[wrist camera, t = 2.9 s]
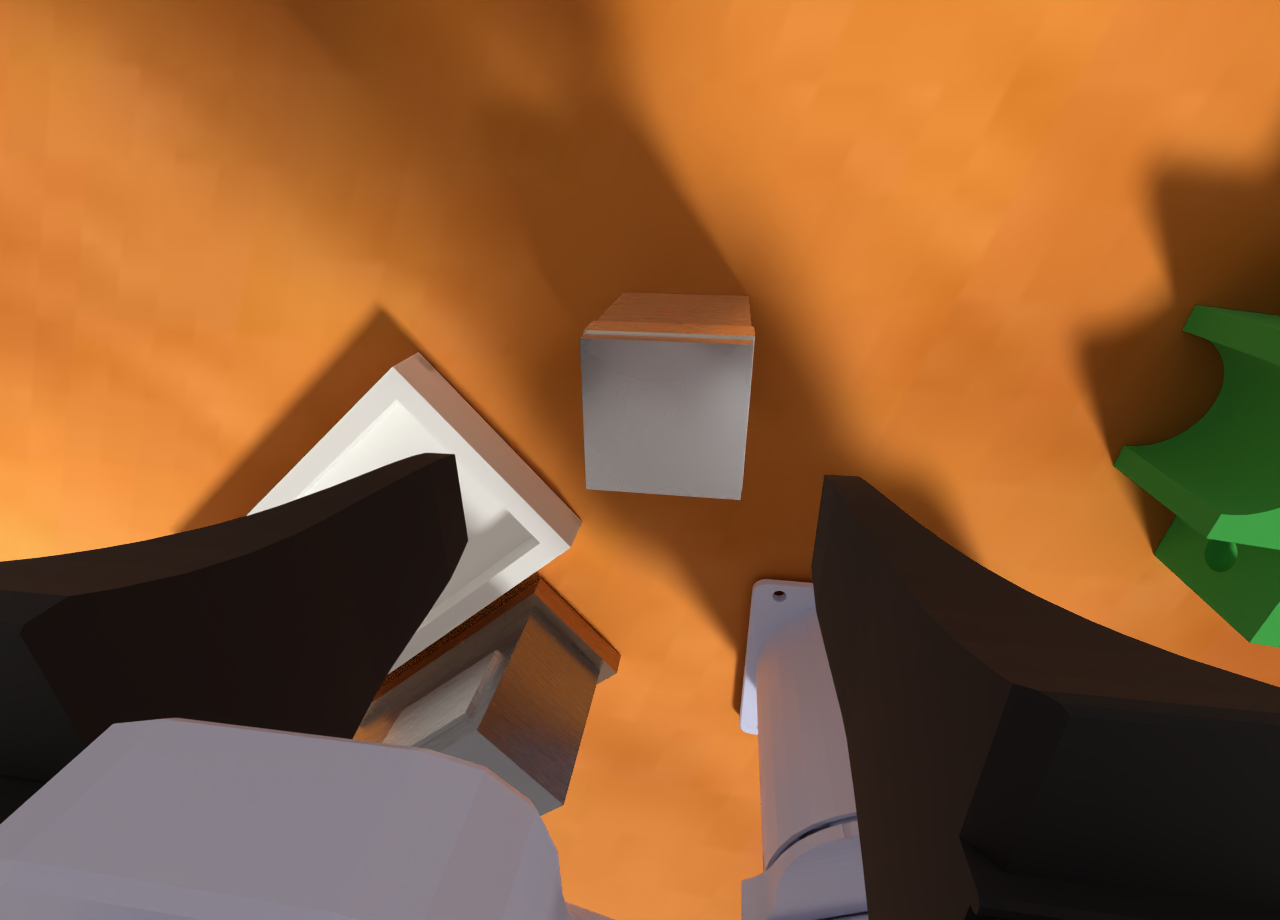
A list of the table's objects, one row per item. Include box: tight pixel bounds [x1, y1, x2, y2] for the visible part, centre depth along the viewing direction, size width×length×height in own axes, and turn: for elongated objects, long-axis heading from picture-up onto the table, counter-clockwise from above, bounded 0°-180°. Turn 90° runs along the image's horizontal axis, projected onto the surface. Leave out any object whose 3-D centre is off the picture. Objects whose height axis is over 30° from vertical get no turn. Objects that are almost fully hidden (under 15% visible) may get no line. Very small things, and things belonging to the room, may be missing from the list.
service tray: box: [246, 352, 582, 674], centre depth 24 cm, size 16×9×2 cm, turn 131°
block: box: [580, 292, 755, 500], centre depth 17 cm, size 4×4×6 cm
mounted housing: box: [353, 578, 621, 816], centre depth 25 cm, size 13×5×7 cm, turn 131°
